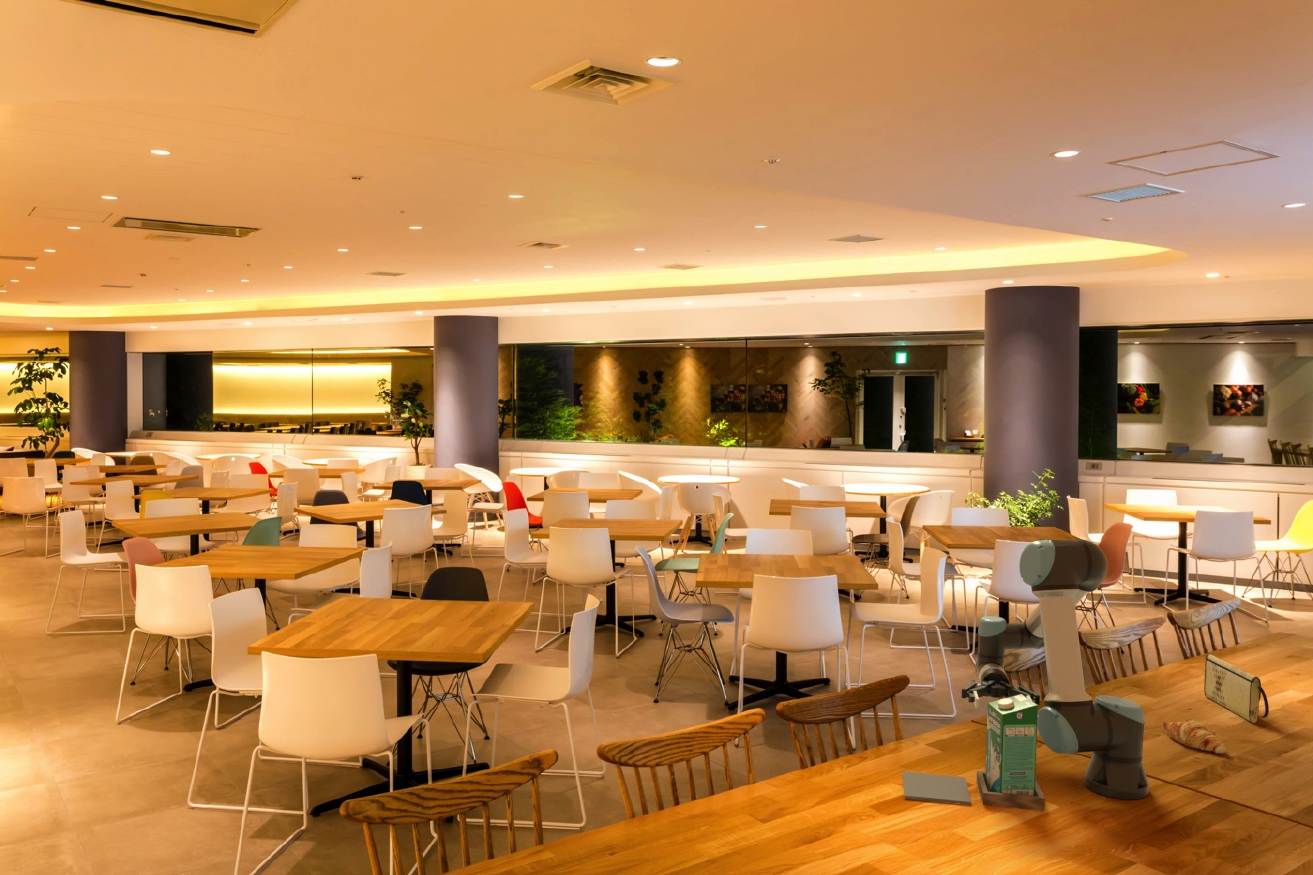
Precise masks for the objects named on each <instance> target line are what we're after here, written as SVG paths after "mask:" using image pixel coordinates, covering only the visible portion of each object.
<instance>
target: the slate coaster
mask: <svg viewBox="0 0 1313 875" xmlns="http://www.w3.org/2000/svg"><path fill="white" fill-rule="evenodd" d="M966 779H967V778H966V776H959V775H958V776H957V775H949V774H948V775H947V774H937V773H928V772H927V773H925V772H917V771H904V770H902V781H903V782H902V783H903V791H904V792H903V793H904V799H906V800H914V801H915V800H916V801H926V802H934V801H935V803H936V802H937V803H944V802H950V803H949V804H955V803H958V805H965V804H966V805H967V806H972V799H971V798H972V797H971V794H970V791H969V787H968V782H967V780H966ZM959 803H960V804H959ZM966 805H965V806H966Z"/></svg>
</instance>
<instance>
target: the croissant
mask: <svg viewBox="0 0 1313 875" xmlns="http://www.w3.org/2000/svg"><path fill="white" fill-rule="evenodd" d="M1162 727H1163V729H1164V730H1165V731H1166V733H1167V735H1168V737H1170V738H1171V739H1173V740H1174V741H1176V742H1177V743H1178V744H1179V743H1180V744H1182V745H1184V746H1186V747H1189V748H1192V749H1198V750H1202V751H1207V752H1213V753H1214V754H1219V755H1220V754H1225V753H1227V748H1226V746H1225V744H1224V742H1223V741H1222V740H1221V739H1220V738H1219V737H1218V735H1216V733H1215V732H1214V731H1211V730H1208V728H1207V727H1206V726H1205V725H1204V724H1203V723H1201V722H1198V721H1197V720H1196V721H1195V720H1193V719H1186V720H1185V721H1184V720H1182V721H1181V720H1180V721H1178V722H1174V721H1169V722H1167V721H1165V722H1162Z"/></svg>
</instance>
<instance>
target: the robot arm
mask: <svg viewBox="0 0 1313 875" xmlns="http://www.w3.org/2000/svg"><path fill="white" fill-rule="evenodd" d="M1108 569H1109V564H1108V559H1107V556H1106V554H1105V552H1104V551H1103V549H1102V548H1101V547H1100V546H1098V544H1096V543H1094V542H1092V541H1091V540H1090V541H1089V540H1086V539H1079V538H1077V539H1043V540H1034V541H1031V542H1030V543H1028V544H1027V545H1025V547H1024V548H1023V551H1022V553H1021V555H1020V558H1019V573H1020V577H1021V578H1022V581H1023V582H1024V583H1025V584H1026V585H1027V586H1030V587H1031V594H1033V595H1034V596H1035V597H1037V599H1038V605H1037V606H1036V607H1035V609H1033V611H1032V612H1031V613H1030V614H1029V615H1028V617H1027V618H1026V619H1025V620H1024V621H1023V622H1018V623H1017V622H1014V623H1013V622H1012V623H1007V620H1005V618H1003V617H1000V616H994V615H993V616H992V615H986V616H983V617H981V618H980V619H979V623H978V629H977V630H978V631H977V633H978V634H977V636H978V637H977V638H978V639H977V640H978V641H977V656H976V661H975V664H974V666H975V672H976V675H977V676H978V679H979V682H980V683H979V682H978V681H976V679H975V680H974V679H972V680H971V682H970V683H969V684H967V685H965V686H964V687H962V688H961V699H967V698H968V703H973V704H974V707H975V709H976V710H979V709H980V708H979V707H980V698H981V697H986V698H987V697H989V698H990V697H991V698H994V699H999V698H1000V699H1001V698H1003V697H1005V698H1008V697H1012V696H1016V695H1019V694H1022V695H1024V696H1025V697H1026V698H1028V699H1029V700H1031V701H1032V702H1034V703H1035V704H1037V705H1038V706H1039V705H1040V704H1041V695H1040V694H1038V693H1036V692H1035V691H1033V690H1031V689H1029V688H1027V687H1025V686H1024V685H1023V684H1021V683H1019V684H1018V685H1017V686H1014V685H1012V684H1010V680H1009V678H1008V676H1007V673H1006V671H1005V656H1006V651H1007V650H1008V651H1009V650H1010V651H1011V650H1026V649H1029V650H1030V649H1035V650H1036V649H1037V650H1039V649H1042V648H1044V655H1045V664H1046V674H1047V675H1046V676H1047V680H1048V682H1047V684H1048V691H1049V692H1048V694H1047V695H1046V696H1045V697H1044V698H1043V701H1044V706H1043V707H1042V708H1040V709H1039V710H1038V716H1037V732H1038V734H1039V736H1040V739H1041V740H1042V742H1043V743H1044V744H1045V745H1046V747H1047V748H1048V749H1049V750H1051V751H1052V752H1053V753H1056V754H1061V755H1062V754H1063V755H1064V754H1065V755H1067V754H1068V755H1075V754H1079V753H1080V754H1081V753H1092V756H1091V758H1090V761H1089V763H1088V766H1087V768H1086V770H1085V773H1084V785H1085V786H1086V787H1087V788H1088V789H1089V790H1091V791H1092V792H1095V793H1097V794H1099V795H1102V796H1105V797H1109V798H1114V799H1119V800H1141V799H1144V798H1147V797H1148V795H1149V789H1150V784H1149V780H1148V776H1147V774H1146V770H1145V768H1144V764H1143V753H1144V752H1143V751H1144V750H1143V749H1144V734H1145V733H1144V731H1145V712H1144V709H1143V707H1142V706H1141V705H1139V704H1138V703H1136V702H1134V701H1131V700H1129V699H1125V698H1122V697H1118V696H1113V695H1105V694H1100V695H1096V696H1095V698H1094V700H1093V697H1092V696H1090V694H1088V693H1087V691H1086V687H1085V679H1084V678H1085V677H1084V671H1083V663H1082V655H1081V654H1082V653H1081V647H1080V639H1079V638H1080V637H1079V631H1078V622H1077V613H1076V607H1077V605H1078V604H1079V603H1080V601H1082V599H1083V598H1084V597H1085V596H1086V595H1087V594H1088V593H1092V592H1095V591H1096V590H1097V589H1098V588H1099V587H1100V586H1101V585H1102V583H1103V581H1105V578H1106V577H1107V575H1108Z"/></svg>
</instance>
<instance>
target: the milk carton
mask: <svg viewBox="0 0 1313 875" xmlns="http://www.w3.org/2000/svg"><path fill="white" fill-rule="evenodd" d="M1038 709H1039V705H1037V704H1035V703H1034V702H1032V701H1031V700H1029V699H1028V698H1026V697H1025V696H1024V695H1022V694H1019V695H1016V696H1012V697H1008V698H1007V697H1005V698H1003V697H1002V698H1000V699H998V700H994V701H991V702H987V712H986V713H987V715H986V716H987V718H986V741H985V742H986V745H985V746H986V747H985V748H986V749H985V752H986V753H985V772H986V773H985V784H986V787H987V791H988V792H997V793H1008V794H1018V795H1029V796H1035V777H1036V769H1037V768H1036V766H1037V738H1038V737H1037V736H1038V735H1037V734H1038V728H1037V716H1038V711H1039V710H1038Z"/></svg>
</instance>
